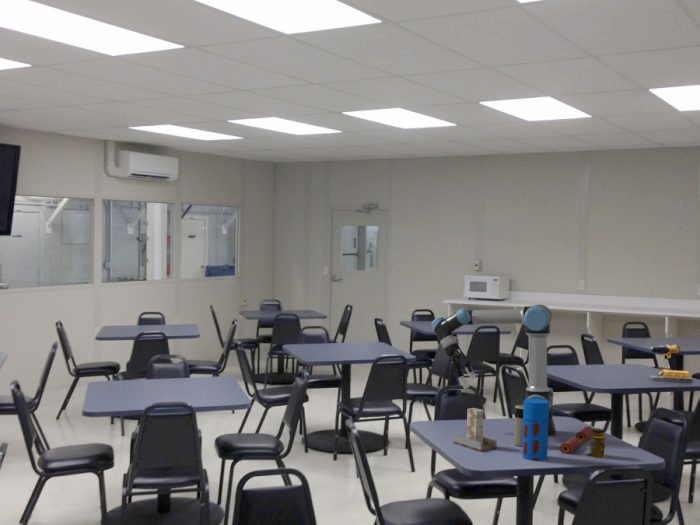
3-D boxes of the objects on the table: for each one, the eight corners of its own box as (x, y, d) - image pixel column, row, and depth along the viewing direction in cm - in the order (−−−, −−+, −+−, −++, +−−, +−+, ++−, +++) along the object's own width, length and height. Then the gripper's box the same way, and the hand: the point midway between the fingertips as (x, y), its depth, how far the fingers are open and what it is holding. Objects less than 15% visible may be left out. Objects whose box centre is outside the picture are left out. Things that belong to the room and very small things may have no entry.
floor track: (453, 443, 363) (453, 434, 363) (469, 440, 369) (469, 432, 369) (480, 451, 348) (480, 443, 348) (496, 449, 354) (496, 440, 354)
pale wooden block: (466, 443, 360) (467, 408, 359) (473, 441, 362) (474, 407, 362) (475, 445, 355) (476, 411, 354) (482, 444, 357) (483, 410, 357)
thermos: (547, 461, 334) (549, 404, 334) (522, 459, 336) (524, 402, 336) (546, 455, 345) (548, 399, 344) (522, 453, 347) (523, 398, 346)
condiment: (608, 457, 343) (608, 431, 343) (590, 458, 341) (591, 431, 341) (599, 453, 350) (600, 427, 350) (582, 454, 348) (583, 427, 348)
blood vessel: (570, 455, 347) (571, 444, 347) (559, 453, 350) (560, 442, 350) (593, 437, 383) (593, 427, 383) (583, 435, 386) (583, 425, 386)
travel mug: (510, 444, 363) (511, 406, 362) (519, 441, 368) (520, 404, 368) (525, 447, 357) (526, 409, 357) (534, 445, 363) (535, 406, 363)
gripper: (438, 358, 398) (457, 394, 389) (449, 338, 376) (470, 377, 368) (451, 353, 400) (470, 389, 392) (462, 333, 379) (483, 371, 370)
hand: (470, 383), depth 380 cm, fingers open, 13 cm apart
